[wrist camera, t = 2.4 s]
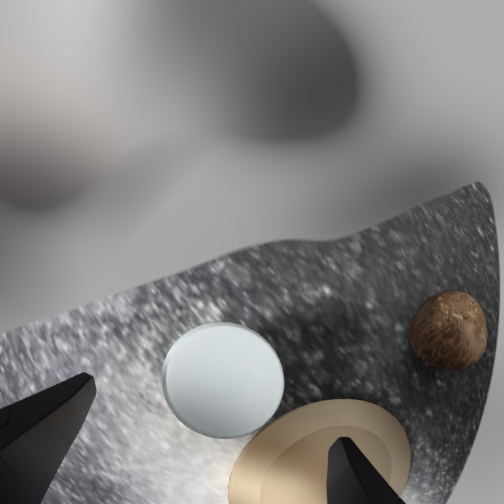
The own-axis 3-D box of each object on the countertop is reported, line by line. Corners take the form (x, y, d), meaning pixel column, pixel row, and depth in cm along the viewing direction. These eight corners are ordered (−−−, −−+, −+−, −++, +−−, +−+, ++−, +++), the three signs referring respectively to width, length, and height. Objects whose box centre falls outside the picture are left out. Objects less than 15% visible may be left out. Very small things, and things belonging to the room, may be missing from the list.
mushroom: (484, 381, 15) (514, 334, 12) (408, 401, 17) (430, 357, 14) (460, 320, 22) (476, 271, 19) (394, 331, 24) (403, 281, 20)
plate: (340, 560, 9) (345, 565, 8) (189, 512, 12) (188, 518, 11) (427, 433, 16) (435, 433, 15) (300, 365, 18) (305, 363, 17)
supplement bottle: (199, 330, 18) (187, 278, 10) (271, 360, 18) (325, 336, 9) (167, 398, 16) (121, 411, 7) (242, 430, 15) (271, 474, 7)
